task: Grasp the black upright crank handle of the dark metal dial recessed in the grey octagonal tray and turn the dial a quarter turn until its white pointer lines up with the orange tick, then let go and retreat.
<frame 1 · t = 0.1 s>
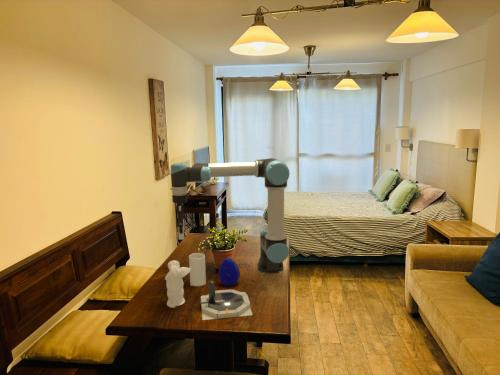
hand: (181, 234, 186), 28 cm above the table, fingers open, 13 cm apart
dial: (225, 292, 168), point 7 cm above the table, hinge at 0.0°
cherub figurine: (180, 304, 173), on the table
cup: (198, 284, 193), on the table
ornament: (229, 285, 191), on the table
grey octagonal tray: (225, 306, 169), on the table
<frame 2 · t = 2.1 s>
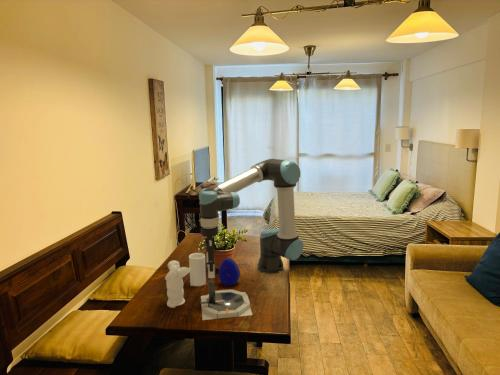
hand: (210, 271, 165), 18 cm above the table, fingers open, 13 cm apart
nothing on the table moved.
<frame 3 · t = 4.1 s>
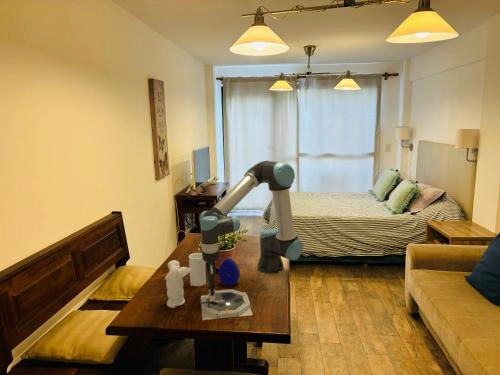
hand: (212, 299, 168), 5 cm above the table, fingers closed on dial, 3 cm apart
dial: (225, 292, 168), point 7 cm above the table, hinge at 0.0°, touching gripper
everything else where it was.
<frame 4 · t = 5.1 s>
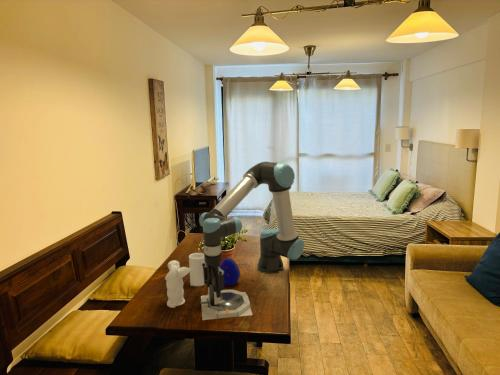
hand: (214, 301, 166), 4 cm above the table, fingers open, 4 cm apart
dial: (225, 292, 168), point 7 cm above the table, hinge at 21.6°, touching gripper
everything else where it was.
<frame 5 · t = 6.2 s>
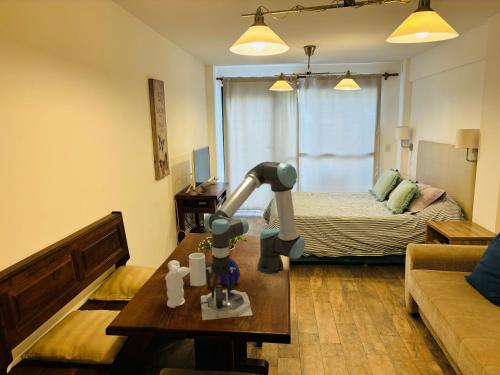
hand: (221, 303, 164), 4 cm above the table, fingers open, 5 cm apart
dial: (225, 292, 168), point 7 cm above the table, hinge at 60.3°, touching gripper
everything else where it was.
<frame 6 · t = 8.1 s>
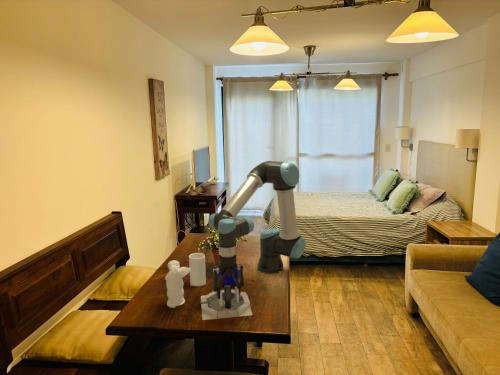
hand: (228, 302, 163), 5 cm above the table, fingers open, 7 cm apart
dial: (225, 292, 168), point 7 cm above the table, hinge at 97.3°
everything else where it was.
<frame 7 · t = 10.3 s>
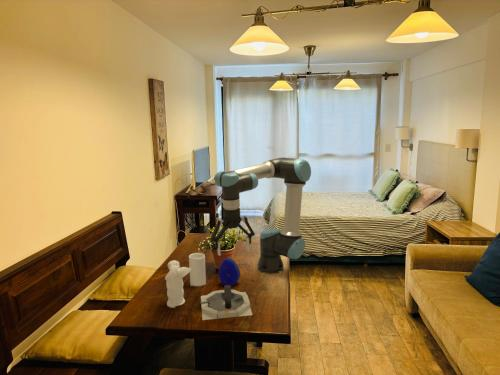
hand: (233, 252, 167), 26 cm above the table, fingers open, 13 cm apart
nothing on the table moved.
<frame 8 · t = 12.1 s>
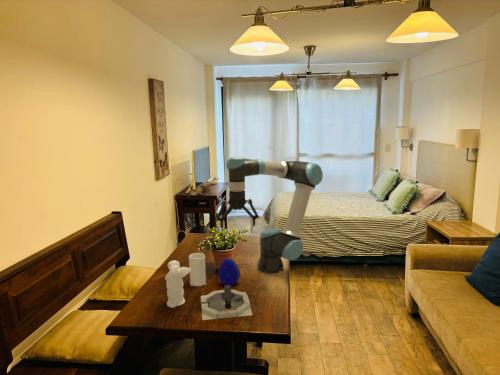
hand: (238, 233, 175), 32 cm above the table, fingers open, 13 cm apart
nothing on the table moved.
at the end: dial at +97° (first picture: +0°); the gripper is holding nothing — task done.
